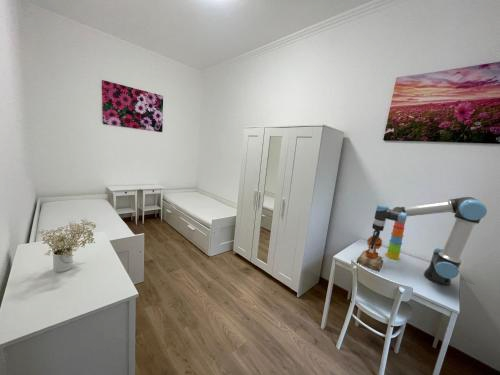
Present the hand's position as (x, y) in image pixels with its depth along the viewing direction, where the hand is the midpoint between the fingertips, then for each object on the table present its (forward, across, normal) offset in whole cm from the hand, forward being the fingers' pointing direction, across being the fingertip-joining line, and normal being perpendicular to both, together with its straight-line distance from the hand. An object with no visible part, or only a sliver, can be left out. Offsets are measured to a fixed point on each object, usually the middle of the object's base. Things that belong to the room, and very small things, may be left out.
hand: (372, 249), depth 170 cm
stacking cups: (+12, -30, +12) cm, 35 cm away
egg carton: (+12, 0, 0) cm, 12 cm away
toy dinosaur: (+6, -1, 0) cm, 6 cm away
